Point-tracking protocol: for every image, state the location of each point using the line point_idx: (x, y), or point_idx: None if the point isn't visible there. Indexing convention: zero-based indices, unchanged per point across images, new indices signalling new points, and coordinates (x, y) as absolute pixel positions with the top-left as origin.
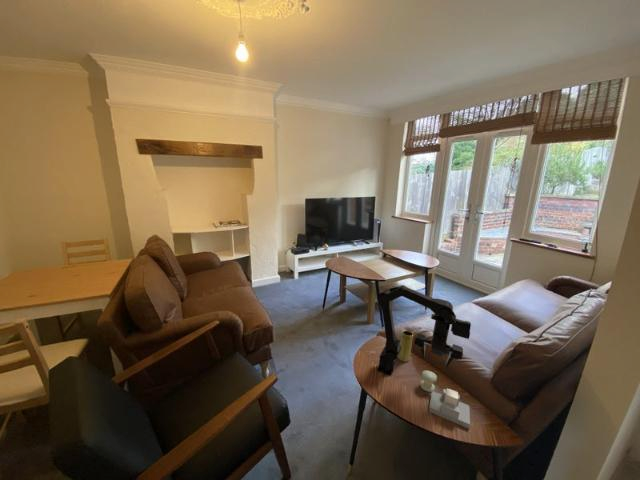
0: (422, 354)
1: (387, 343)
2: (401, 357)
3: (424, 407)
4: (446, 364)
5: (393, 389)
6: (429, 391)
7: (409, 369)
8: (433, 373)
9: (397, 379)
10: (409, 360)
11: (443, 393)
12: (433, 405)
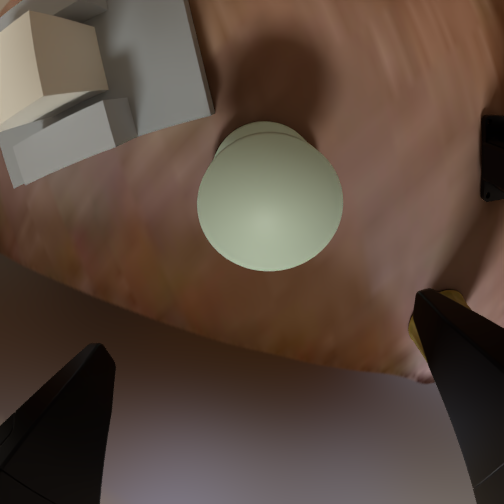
0: (498, 329)
1: None
2: (458, 301)
3: None
4: (73, 374)
5: (428, 2)
6: (234, 130)
7: (403, 254)
8: (248, 261)
9: (444, 105)
10: (410, 320)
11: (104, 101)
12: None
